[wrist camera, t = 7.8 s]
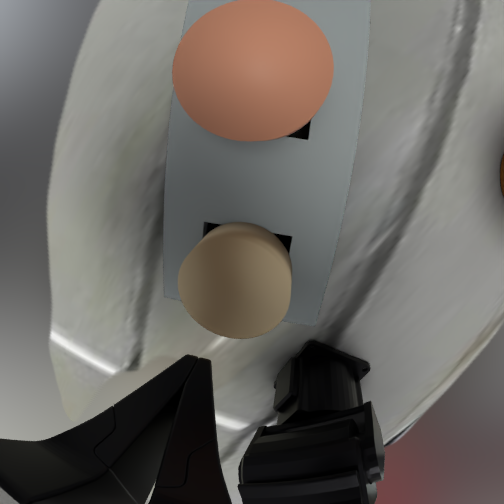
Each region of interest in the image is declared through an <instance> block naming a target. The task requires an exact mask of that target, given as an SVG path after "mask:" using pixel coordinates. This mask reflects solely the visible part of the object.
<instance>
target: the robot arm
mask: <svg viewBox="0 0 504 504" xmlns="http://www.w3.org/2000/svg"><path fill="white" fill-rule="evenodd" d="M310 346H314V347H312V348H311V347H310ZM363 368H364V369H363ZM369 371H370V365H369V363H367V362H364V361H362V360H359V359H357V358H354V357H352V356H349V355H347V354H345V353H342V352H340V351H337V350H335V349H333V348H330V347H328V346H325V345H323V344H321V343H318V342H316V341H308V342H307V343H306V344H305V345H304V347H303V348H302V349H301V351H300V352H299V353H298V354H297V356H296V357H293V358H291V359H290V360H289V362H288V363H287V364H286V365H285V367H284V368H283V369H282V370H281V371H280V373H279V374H278V376H277V380H276V381H275V382H274V388H275V389H276V392H275V399H274V406H273V408H274V411H276V412H278V420H277V425H274V426H268V427H267V426H261V427H259V428H258V430H257V432H256V433H255V435H254V437H253V439H252V441H251V443H250V445H249V447H248V448H247V450H246V452H245V454H244V456H243V457H242V459H241V462H240V465H239V467H238V470H239V473H238V475H239V482H240V484H238V490H239V492H240V495H241V498H242V502H243V504H374V503H375V501H376V498H377V489H376V482H378V481H382V480H383V478H384V460H385V451H384V445H383V439H382V434H381V429H380V426H379V423H378V420H377V417H376V414H375V411H374V408H373V405H372V402H371V401H369V402H366V403H364V405H363V399H362V392H361V386H360V380H361V379H362V378H363V377H364V376H365V375H366V374H367V373H368V372H369ZM155 481H156V483H155ZM154 483H155V488H154V490H153V493H152V496H151V499H150V501H149V503H148V504H232V502H231V499H230V496H229V493H228V490H227V487H226V483H225V480H224V477H223V473H222V469H221V464H220V458H219V452H218V442H217V433H216V421H215V409H214V396H213V382H212V366H211V360H209V359H205V358H198V357H197V356H193V355H189V354H187V355H185V356H184V357H182V358H181V359H179V360H178V361H177V362H175V363H174V364H173V365H171V366H170V367H169V368H167V369H165V370H164V371H163V372H161V373H160V374H158V375H157V376H155V377H154V378H153V379H151V380H150V381H148V382H147V383H145V384H144V385H143V386H141V387H140V388H138V389H137V390H135V391H134V392H132V393H131V394H129V395H128V396H126V397H125V398H123V399H122V400H120V401H119V402H117V403H116V404H114V407H113V406H111V407H110V408H108V409H107V410H105V411H104V412H102V413H100V414H99V415H97V416H95V417H94V418H92V419H90V420H88V421H86V422H84V423H82V424H80V425H78V426H76V427H74V428H72V429H70V430H67V431H65V432H63V433H61V434H58V435H56V436H54V437H51V438H49V439H46V440H41V441H21V440H9V439H0V504H145V502H146V500H147V498H148V496H149V494H150V492H151V490H152V487H153V485H154Z"/></svg>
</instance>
